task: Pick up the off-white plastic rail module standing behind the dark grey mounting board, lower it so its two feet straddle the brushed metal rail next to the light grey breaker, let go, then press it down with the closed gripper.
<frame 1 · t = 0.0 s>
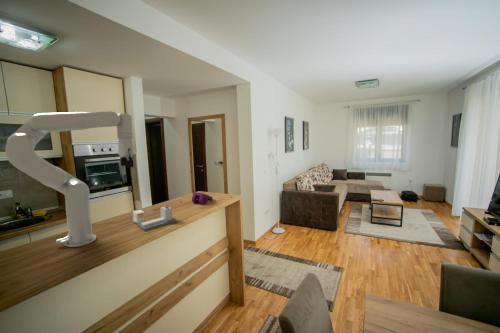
hand: (127, 166, 125), 37 cm above the counter, tool pointing down, fingers open, 9 cm apart
rail module: (139, 222, 137), on the counter
mounting board: (157, 223, 135), on the counter
purple rounded lump: (203, 202, 183), on the counter
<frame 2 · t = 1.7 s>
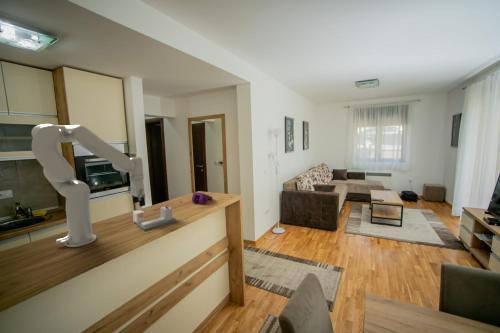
hand: (139, 204, 136), 12 cm above the counter, tool pointing down, fingers open, 9 cm apart
nothing on the counter moved.
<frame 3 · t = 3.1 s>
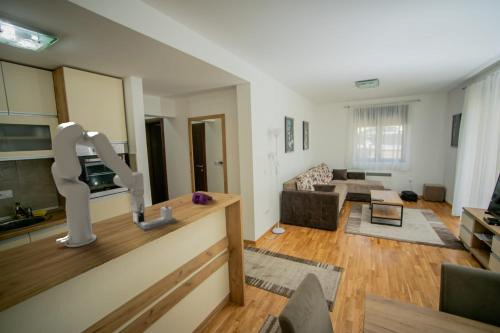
hand: (139, 220, 136), 2 cm above the counter, tool pointing down, fingers closed on rail module, 6 cm apart
rail module: (139, 222, 137), on the counter, touching gripper
everything else where it was.
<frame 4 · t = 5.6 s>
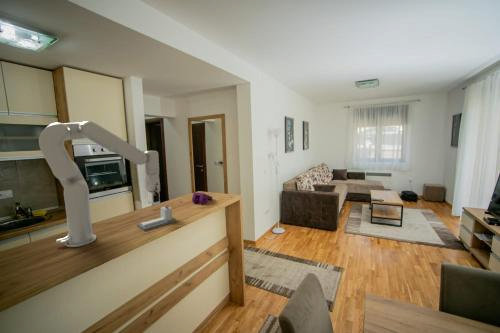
hand: (153, 200, 132), 15 cm above the counter, tool pointing down, fingers closed on rail module, 6 cm apart
rail module: (154, 203, 132), point 14 cm above the counter, touching gripper
everything else where it was.
when the fingers open (4 cm above the counter, at t = 8.0 s): rail module stays where it is, resting on mounting board.
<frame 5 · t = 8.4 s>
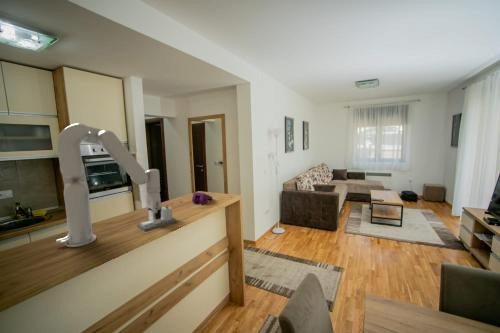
hand: (154, 216, 133), 5 cm above the counter, tool pointing down, fingers open, 9 cm apart
rail module: (154, 222, 134), point 1 cm above the counter, touching mounting board
everything else where it was.
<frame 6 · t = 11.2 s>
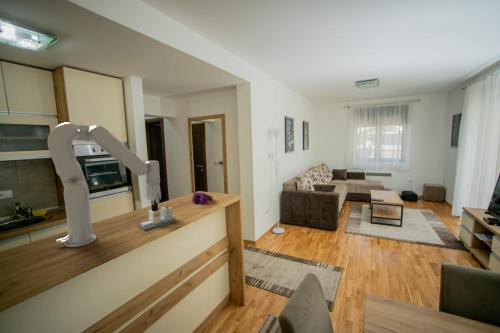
hand: (154, 210, 133), 9 cm above the counter, tool pointing down, fingers closed
rail module: (154, 222, 134), point 2 cm above the counter, touching gripper, mounting board
everything else where it was.
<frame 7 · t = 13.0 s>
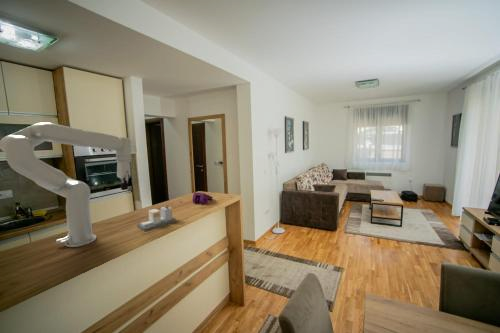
hand: (124, 189, 129), 23 cm above the counter, tool pointing down, fingers closed
rail module: (154, 222, 134), point 1 cm above the counter, touching mounting board
everything else where it was.
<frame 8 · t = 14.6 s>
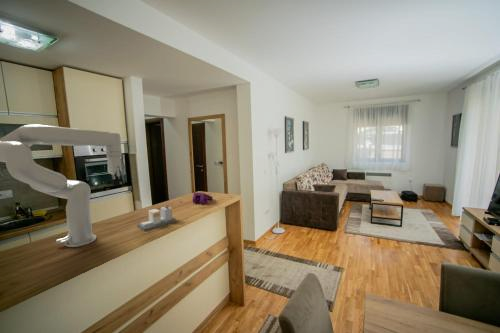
hand: (116, 185, 129), 25 cm above the counter, tool pointing down, fingers closed
nothing on the counter moved.
at the end: rail module 0.1 cm from the target spot on the mounting board, point 1.5 cm above the mounting board's base; rail module tilted 0°; the gripper is holding nothing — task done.
